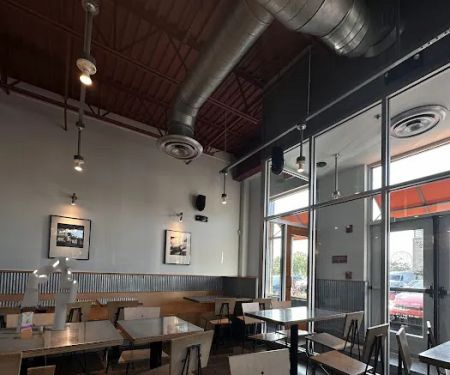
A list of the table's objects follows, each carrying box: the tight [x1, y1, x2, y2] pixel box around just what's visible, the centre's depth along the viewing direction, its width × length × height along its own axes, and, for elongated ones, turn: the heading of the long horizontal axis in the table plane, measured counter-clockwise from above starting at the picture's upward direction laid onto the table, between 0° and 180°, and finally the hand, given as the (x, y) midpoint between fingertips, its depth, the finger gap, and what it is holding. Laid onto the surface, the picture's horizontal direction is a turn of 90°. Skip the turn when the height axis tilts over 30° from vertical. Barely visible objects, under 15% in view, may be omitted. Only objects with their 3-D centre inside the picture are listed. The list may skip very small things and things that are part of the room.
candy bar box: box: [15, 311, 35, 334], centre depth 285 cm, size 11×5×16 cm, turn 161°
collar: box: [19, 328, 33, 340], centre depth 266 cm, size 7×7×5 cm
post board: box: [16, 325, 48, 340], centre depth 272 cm, size 20×20×8 cm
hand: (28, 314), depth 268 cm, fingers open, 9 cm apart
